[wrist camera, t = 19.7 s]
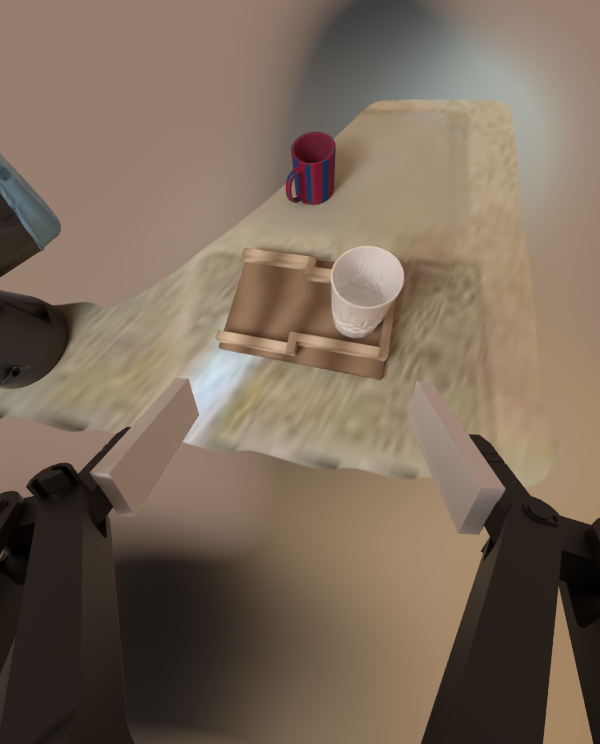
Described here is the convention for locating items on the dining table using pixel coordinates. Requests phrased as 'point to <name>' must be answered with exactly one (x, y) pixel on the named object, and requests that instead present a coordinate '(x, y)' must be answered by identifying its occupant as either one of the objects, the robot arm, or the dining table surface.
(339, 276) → the white cup
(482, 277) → the dining table surface
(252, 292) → the wooden tray
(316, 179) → the mug
